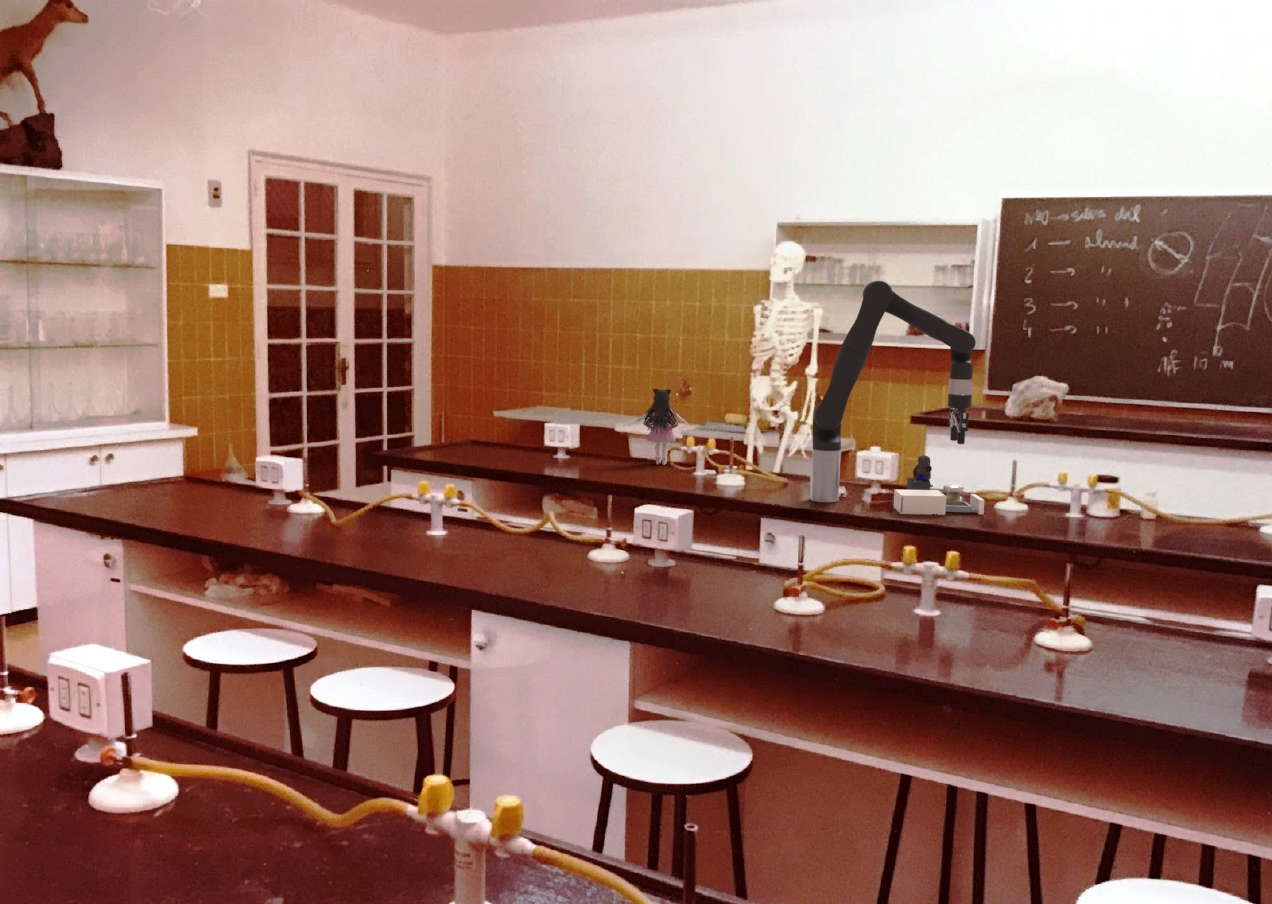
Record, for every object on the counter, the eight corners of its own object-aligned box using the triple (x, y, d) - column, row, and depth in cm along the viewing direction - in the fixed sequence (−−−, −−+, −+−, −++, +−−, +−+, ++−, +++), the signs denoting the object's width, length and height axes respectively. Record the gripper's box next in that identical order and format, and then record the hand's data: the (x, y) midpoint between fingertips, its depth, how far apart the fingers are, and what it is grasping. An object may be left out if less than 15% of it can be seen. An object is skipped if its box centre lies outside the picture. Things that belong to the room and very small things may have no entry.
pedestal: (947, 507, 371) (948, 492, 371) (944, 504, 376) (944, 489, 375) (961, 507, 371) (961, 492, 371) (957, 505, 376) (958, 490, 375)
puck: (945, 492, 370) (946, 487, 369) (941, 489, 376) (941, 484, 376) (965, 493, 370) (966, 488, 369) (960, 489, 376) (960, 484, 376)
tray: (932, 513, 359) (933, 499, 358) (924, 507, 369) (925, 493, 369) (983, 514, 359) (984, 500, 358) (974, 508, 369) (975, 494, 368)
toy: (906, 495, 392) (908, 452, 390) (934, 498, 388) (937, 454, 386) (898, 500, 383) (901, 456, 381) (927, 503, 379) (930, 458, 377)
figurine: (690, 463, 456) (692, 389, 452) (686, 467, 446) (687, 391, 442) (636, 461, 461) (637, 387, 457) (630, 464, 451) (631, 389, 447)
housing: (900, 513, 359) (901, 495, 358) (893, 507, 370) (894, 489, 369) (945, 514, 359) (946, 496, 358) (937, 508, 370) (937, 490, 369)
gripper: (942, 390, 377) (940, 439, 380) (954, 394, 363) (951, 445, 366) (965, 391, 377) (962, 439, 380) (977, 395, 363) (974, 445, 366)
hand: (957, 442), depth 373 cm, fingers open, 8 cm apart
